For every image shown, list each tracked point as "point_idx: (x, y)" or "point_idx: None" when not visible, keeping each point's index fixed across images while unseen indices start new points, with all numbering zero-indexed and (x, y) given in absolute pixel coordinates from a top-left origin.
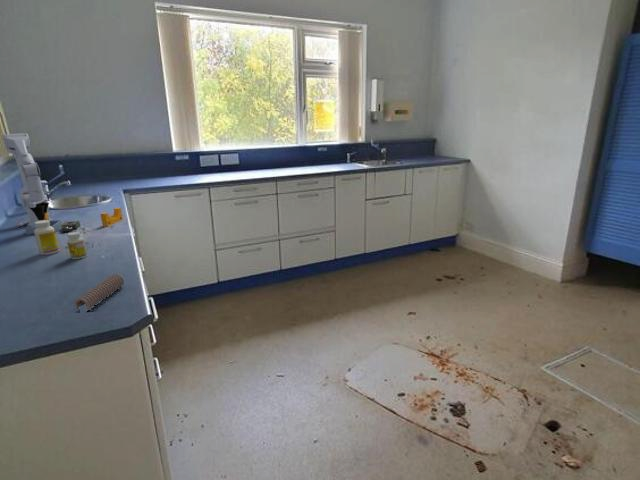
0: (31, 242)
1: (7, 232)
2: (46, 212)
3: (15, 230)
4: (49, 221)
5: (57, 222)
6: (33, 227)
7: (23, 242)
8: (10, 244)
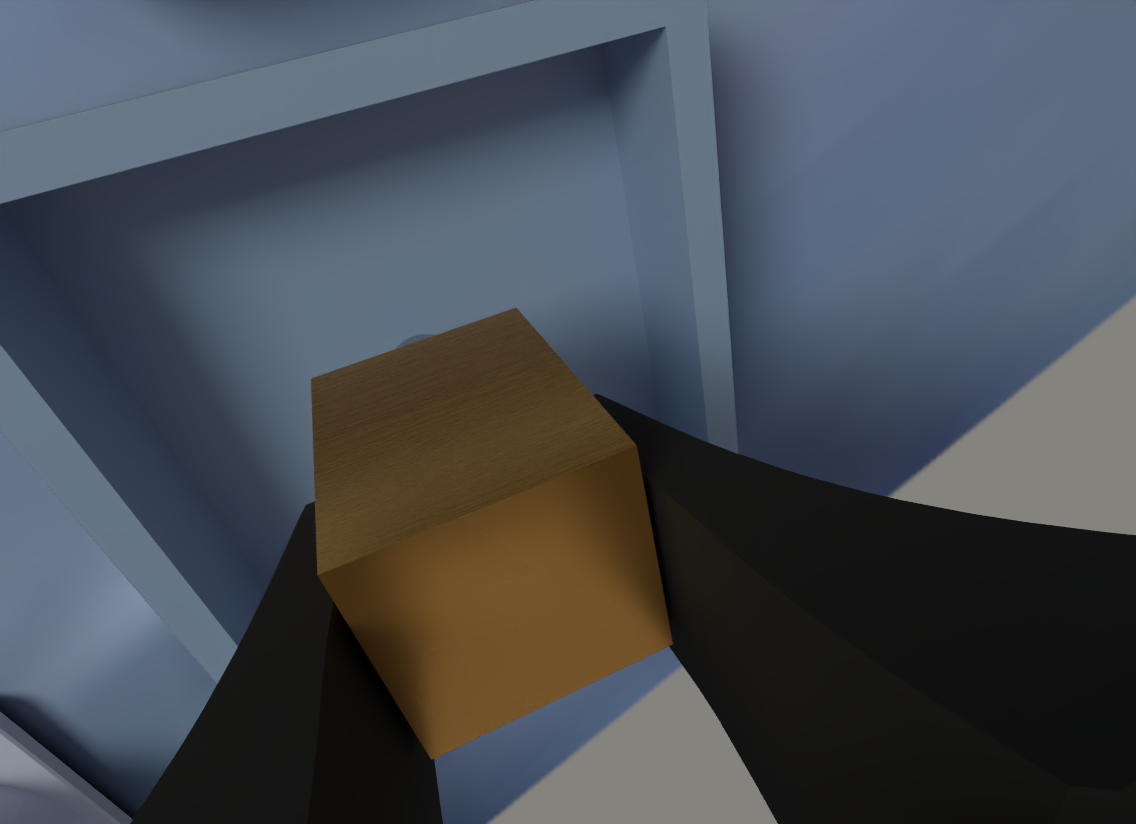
0: (1101, 71)
1: (533, 770)
2: (394, 575)
3: (443, 773)
4: (134, 501)
5: (241, 114)
6: (707, 434)
7: (1043, 212)
8: (1048, 329)
